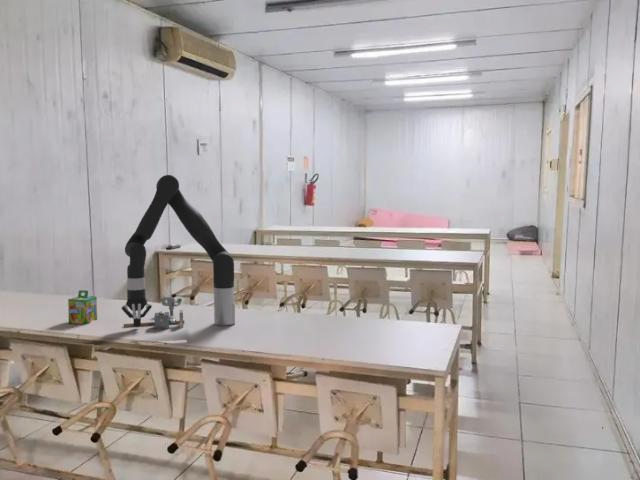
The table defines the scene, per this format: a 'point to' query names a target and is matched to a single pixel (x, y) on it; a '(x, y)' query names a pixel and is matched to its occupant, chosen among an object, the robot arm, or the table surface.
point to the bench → (154, 322)
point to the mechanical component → (170, 303)
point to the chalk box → (82, 308)
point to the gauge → (162, 320)
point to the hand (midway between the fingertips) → (137, 326)
